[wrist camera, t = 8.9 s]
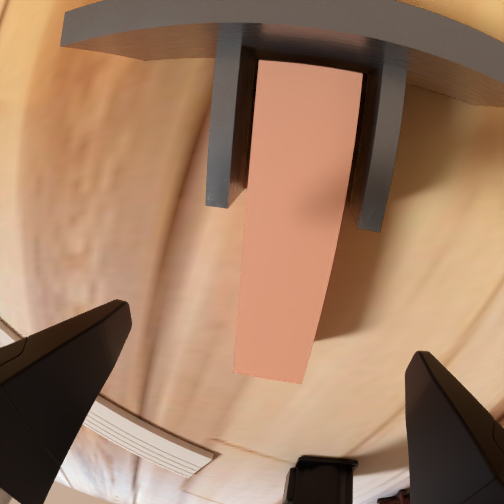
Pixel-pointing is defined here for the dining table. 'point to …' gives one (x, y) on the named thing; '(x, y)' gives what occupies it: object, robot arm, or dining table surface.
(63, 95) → the dining table surface
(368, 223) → the bracket
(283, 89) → the rail
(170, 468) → the baseboard
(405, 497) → the mate gourd
